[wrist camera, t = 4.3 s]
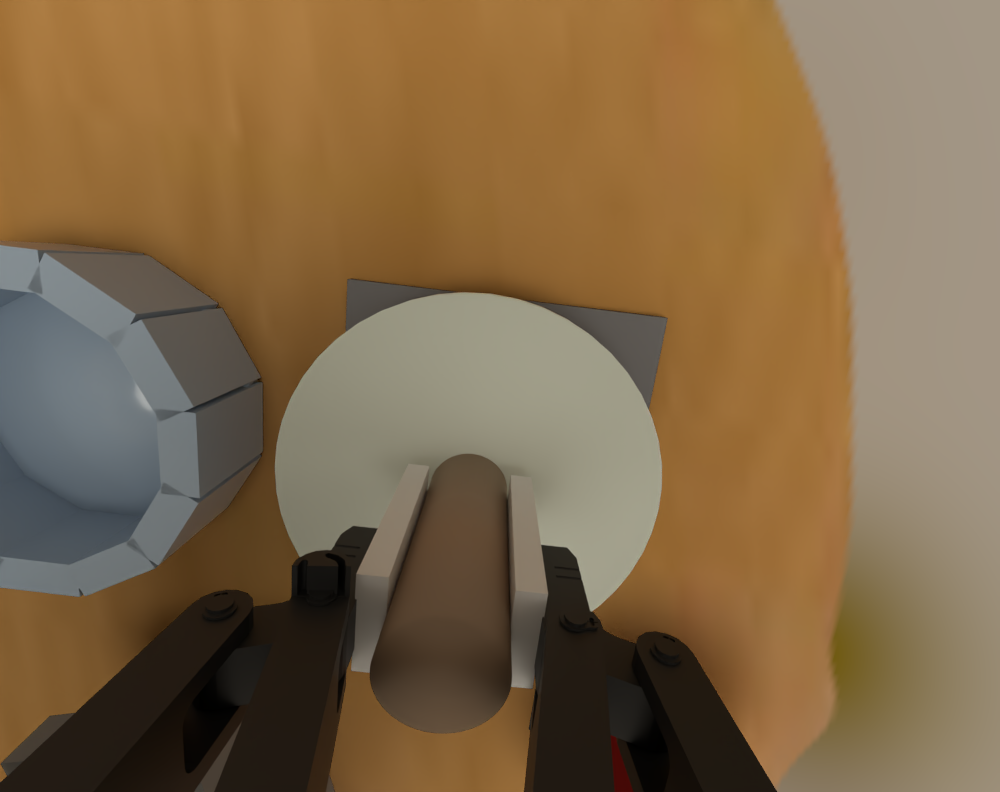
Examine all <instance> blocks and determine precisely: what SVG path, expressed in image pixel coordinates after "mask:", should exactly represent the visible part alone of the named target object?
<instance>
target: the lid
mask: <svg viewBox="0 0 1000 792" xmlns="http://www.w3.org/2000/svg"><path fill="white" fill-rule="evenodd" d="M408 464H415V465H425V466H429V477H428V488H427V494H426V497H425V500H424V503H423V506H422V509H421V512H420V515H419V518H418V521H417V524H416V527H415V530H414V533H413V536H412V539H411V542H410V545H409V548H408V551H407V554H406V557H405V560H404V563H403V566H402V569H401V572H400V575H399V578H398V581H397V584H396V587H395V591H394V594H393V597H392V600H391V603H390V606H389V609H388V612H387V615H386V618H385V621H384V624H383V627H382V630H381V633H380V636H379V639H378V642H377V645H376V648H375V651H374V654H373V657H372V660H371V665H370V681H371V686H372V689H373V692H374V694H375V696H376V698H377V700H378V701H379V703H380V704H381V706H382V707H383V708H384V709H385V710H386V711H387V712H388V713H389V714H390V715H391V716H393V717H394V718H395V719H397V720H398V721H400V722H401V723H403V724H405V725H407V726H409V727H412V728H415V729H417V730H421V731H425V732H431V733H456V732H462V731H465V730H469V729H472V728H474V727H476V726H479V725H481V724H482V723H484V722H486V721H487V720H489V719H490V718H491V717H493V716H494V715H495V714H496V713H497V712H498V711H499V710H500V708H501V707H502V706H503V704H504V703H505V701H506V699H507V697H508V695H509V692H510V688H511V684H512V656H511V628H510V590H509V550H508V510H507V499H508V491H509V484H510V477H511V475H515V476H524V477H531V478H532V485H533V492H534V499H535V506H536V513H537V520H538V527H539V534H540V541H541V545H548V546H557V547H567V548H568V549H569V550H570V551H571V552H572V553H573V555H574V556H575V557H576V558H577V562H578V566H579V571H580V573H581V577H582V581H583V585H584V589H585V593H586V597H587V601H588V604H589V608H590V611H591V612H592V611H593V610H594V609H596V608H597V607H599V606H600V605H601V604H602V603H603V602H604V601H605V600H606V599H607V598H608V597H609V596H610V595H612V594H613V593H614V592H615V591H616V590H617V588H618V587H619V586H620V585H621V584H622V582H623V581H624V580H625V579H626V578H627V576H628V575H629V574H630V573H631V571H632V569H633V568H634V566H635V565H636V563H637V561H638V560H639V558H640V557H641V555H642V553H643V551H644V549H645V547H646V544H647V542H648V540H649V538H650V536H651V533H652V530H653V527H654V524H655V520H656V517H657V513H658V509H659V503H660V496H661V489H662V462H661V454H660V447H659V440H658V437H657V433H656V430H655V426H654V423H653V419H652V416H651V414H650V412H649V410H648V408H647V405H646V403H645V401H644V399H643V396H642V394H641V393H640V391H639V390H638V388H637V386H636V385H635V383H634V382H633V380H632V379H631V377H630V375H629V374H628V372H627V371H626V370H625V369H624V368H623V367H622V365H621V364H620V363H619V362H618V361H617V360H616V358H615V357H614V356H613V355H612V354H611V353H610V352H609V351H608V350H607V349H606V348H605V347H604V346H602V345H601V344H600V343H599V342H598V341H597V340H596V339H595V338H593V337H592V336H591V335H590V334H589V333H587V332H586V331H584V330H583V329H581V328H580V327H578V326H577V325H575V324H574V323H572V322H571V321H569V320H568V319H566V318H564V317H562V316H560V315H558V314H556V313H554V312H552V311H550V310H548V309H546V308H544V307H542V306H538V305H535V304H532V303H529V302H526V301H523V300H520V299H517V298H512V297H507V296H502V295H497V294H491V293H474V292H457V293H445V294H436V295H431V296H426V297H422V298H417V299H413V300H409V301H407V302H404V303H401V304H398V305H396V306H393V307H390V308H387V309H385V310H382V311H380V312H378V313H376V314H374V315H372V316H371V317H369V318H367V319H365V320H363V321H361V322H359V323H358V324H356V325H355V326H353V327H352V328H351V329H349V330H348V331H347V332H345V333H344V334H342V335H341V336H340V337H338V338H337V339H336V340H335V341H334V342H333V343H332V344H331V345H330V346H329V347H328V348H327V349H326V350H325V351H323V352H322V353H321V354H320V355H319V356H318V357H317V359H316V360H315V361H314V363H313V364H312V365H311V367H310V368H309V369H308V370H307V372H306V373H305V374H304V376H303V377H302V379H301V381H300V382H299V384H298V386H297V388H296V389H295V391H294V393H293V395H292V397H291V398H290V401H289V404H288V406H287V409H286V411H285V414H284V417H283V419H282V422H281V427H280V431H279V436H278V440H277V445H276V458H275V480H276V493H277V497H278V502H279V507H280V512H281V516H282V518H283V521H284V524H285V527H286V530H287V532H288V535H289V537H290V539H291V541H292V543H293V545H294V547H295V549H296V551H297V553H298V555H299V557H301V556H303V555H305V554H307V553H311V552H314V551H320V550H332V548H333V546H335V543H336V541H337V540H338V538H339V536H340V535H341V534H342V533H343V532H345V531H346V530H348V529H349V528H351V527H352V526H359V527H369V528H378V527H379V525H380V523H381V521H382V518H383V516H384V514H385V512H386V510H387V508H388V506H389V504H390V502H391V500H392V497H393V495H394V493H395V491H396V489H397V487H398V485H399V483H400V481H401V478H402V476H403V474H404V472H405V470H406V468H407V466H408Z"/></svg>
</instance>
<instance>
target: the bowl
mask: <svg viewBox="0 0 1000 792" xmlns="http://www.w3.org/2000/svg"><path fill="white" fill-rule="evenodd" d="M217 305H218V303H217V302H215V301H214V300H212V299H211V298H209V297H208V296H207V295H205V294H204V293H202V292H201V291H199V290H198V289H196V288H195V287H194V286H192V285H191V284H189V283H188V282H186V281H185V280H184V279H182V278H181V277H179V276H178V275H176V274H175V273H173V272H172V271H171V270H169V269H168V268H166V267H165V266H163V265H162V264H160V263H159V262H158V261H156V260H155V259H153V258H152V257H150V256H146V255H144V253H136V252H127V251H119V250H111V249H103V248H95V247H87V246H78V245H70V244H58V243H38V242H18V241H0V587H1V588H9V589H17V590H26V591H34V592H43V593H51V594H59V595H68V596H76V597H80V596H82V595H83V594H84V595H85V596H87V595H90V594H92V593H95V592H97V591H100V590H102V589H105V588H107V587H110V586H112V585H115V584H117V583H120V582H122V581H125V580H127V579H130V578H132V577H135V576H137V575H140V574H142V573H145V572H148V571H150V570H153V569H155V568H156V567H157V566H158V565H160V564H161V563H162V562H163V561H165V560H166V559H167V558H168V557H169V556H171V555H172V554H173V553H174V552H175V551H176V550H178V549H179V548H180V547H181V546H182V545H184V544H185V543H186V542H187V541H188V540H189V539H191V538H192V537H193V536H194V535H195V534H197V533H198V532H199V531H200V530H201V529H203V528H204V527H205V526H206V525H207V524H208V523H210V522H211V521H212V520H213V519H214V518H216V517H217V516H218V515H219V514H220V513H222V512H223V511H224V510H225V509H226V508H227V507H228V506H229V505H230V503H231V502H232V500H233V499H234V497H235V496H236V494H237V493H238V491H239V490H240V488H241V487H242V485H243V484H244V482H245V481H246V479H247V477H248V476H249V474H250V473H251V471H252V470H253V468H254V467H255V465H256V464H257V462H258V461H259V459H260V458H261V456H262V455H260V453H262V452H263V382H258V381H257V379H259V378H261V376H260V374H259V373H258V371H257V369H256V367H255V365H254V364H253V362H252V360H251V358H250V357H249V355H248V353H247V351H246V349H245V348H244V346H243V344H242V342H241V341H240V339H239V337H238V335H237V333H236V332H235V330H234V328H233V326H232V324H231V323H230V321H229V319H228V317H227V316H226V314H225V312H224V310H223V308H219V309H217V308H216V307H217Z"/></svg>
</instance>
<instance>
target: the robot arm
mask: <svg viewBox="0 0 1000 792" xmlns="http://www.w3.org/2000/svg"><path fill="white" fill-rule="evenodd" d="M428 477H429V466H425V465H415V464H408V466H407V468H406V470H405V472H404V474H403V476H402V478H401V481H400V483H399V485H398V487H397V489H396V491H395V493H394V495H393V497H392V500H391V502H390V504H389V506H388V508H387V510H386V512H385V514H384V516H383V518H382V521H381V523H380V525H379V527H378V528H369V527H359V526H352V527H351V528H349V529H348V530H346V531H345V532H343V533H342V534H341V535H340V536H339V538H338V540H337V541H336V543H335V546H333V548H332V550H320V551H314V552H311V553H307V554H305V555H303V556H301V557H300V558H298V559H297V560H296V561H295V562H294V564H293V565H292V596H291V599H290V600H289V601H286V602H283V603H278V604H272V605H264V606H255V607H253V599H252V597H251V596H250V595H249V594H248V593H245V592H242V591H239V590H223V591H218V592H213V593H211V594H208V595H206V596H204V597H201V598H200V599H199V600H197V601H196V602H194V603H193V604H192V605H190V606H189V607H188V608H187V609H186V610H185V611H184V612H183V613H182V614H181V615H180V616H179V617H178V618H177V619H175V620H174V621H173V622H172V623H171V624H170V625H169V626H168V627H167V628H166V629H165V630H164V631H163V632H161V633H160V634H159V635H158V636H157V637H156V638H155V639H154V640H153V641H152V642H151V643H150V644H149V645H148V646H146V647H145V648H144V649H143V650H142V651H141V652H140V653H139V654H138V655H137V656H136V657H135V658H134V659H133V660H131V661H130V662H129V663H128V664H127V665H126V666H125V667H124V668H123V669H122V670H121V671H120V672H119V673H117V674H116V675H115V676H114V677H113V678H112V679H111V680H110V681H109V682H108V683H107V684H106V685H105V686H104V687H102V688H101V689H100V690H99V691H98V692H97V693H96V694H95V695H94V696H93V697H92V698H91V699H90V700H89V701H87V702H86V703H85V704H84V705H83V706H82V707H81V708H80V709H79V710H78V711H77V712H76V713H75V714H73V715H72V716H71V717H70V718H69V719H68V720H67V721H66V722H65V723H64V724H63V725H62V726H61V727H60V728H58V729H57V730H56V731H55V732H54V733H53V734H52V735H51V736H50V737H49V738H48V739H47V740H46V741H45V742H43V743H42V744H41V745H40V746H39V747H38V748H37V749H36V750H35V751H34V752H33V753H32V754H31V755H29V756H28V757H27V758H26V759H25V760H24V761H23V762H22V763H21V764H20V765H19V766H18V767H17V768H16V769H14V770H13V771H12V772H11V773H10V774H9V775H8V776H7V777H6V778H5V779H4V780H3V781H2V782H1V783H0V792H194V791H195V790H196V788H197V787H198V785H199V784H200V782H201V781H202V779H203V778H204V776H205V775H206V773H207V772H208V771H209V769H210V768H211V766H212V765H213V763H214V762H215V760H216V759H217V757H218V756H219V754H220V753H221V751H222V750H223V748H224V747H225V746H226V744H227V743H228V741H229V740H230V738H231V737H232V735H233V734H234V732H235V731H236V729H237V728H238V726H239V725H240V723H241V722H242V723H241V725H240V728H239V730H238V733H237V735H236V738H235V740H234V743H233V746H232V748H231V751H230V753H229V756H228V758H227V761H226V763H225V766H224V768H223V771H222V773H221V776H220V778H219V781H218V783H217V786H216V788H215V791H214V792H326V789H327V783H328V778H329V773H330V767H331V762H332V756H333V751H334V746H335V740H336V735H337V730H338V724H339V719H340V713H341V708H342V703H343V697H344V692H345V687H346V669H347V667H348V664H349V662H350V659H351V656H352V667H351V671H358V672H368V673H370V665H371V660H372V657H373V654H374V651H375V648H376V645H377V642H378V639H379V636H380V633H381V630H382V627H383V624H384V621H385V618H386V615H387V612H388V609H389V606H390V603H391V600H392V597H393V594H394V591H395V587H396V584H397V581H398V578H399V575H400V572H401V569H402V566H403V563H404V560H405V557H406V554H407V551H408V548H409V545H410V542H411V539H412V536H413V533H414V530H415V527H416V524H417V521H418V518H419V515H420V512H421V509H422V506H423V503H424V500H425V497H426V494H427V488H428ZM507 510H508V550H509V590H510V628H511V656H512V684H511V687H520V688H530V689H532V688H533V682H534V676H535V681H536V689H535V695H534V701H533V707H532V713H531V719H530V725H529V730H530V738H529V748H528V758H527V768H526V777H525V787H524V792H615V788H614V775H613V761H612V748H611V735H612V736H614V737H616V739H617V745H618V748H619V751H620V754H621V756H622V759H623V762H624V765H625V768H626V771H627V774H628V777H629V780H630V783H631V786H632V789H633V792H777V791H776V789H775V788H774V786H773V784H772V783H771V781H770V779H769V778H768V776H767V774H766V773H765V771H764V769H763V768H762V766H761V765H760V763H759V761H758V760H757V758H756V756H755V755H754V753H753V751H752V750H751V748H750V746H749V745H748V743H747V741H746V740H745V738H744V736H743V735H742V733H741V732H740V730H739V728H738V727H737V725H736V723H735V722H734V720H733V718H732V717H731V715H730V713H729V712H728V710H727V708H726V707H725V705H724V704H723V702H722V700H721V699H720V697H719V695H718V694H717V692H716V690H715V689H714V687H713V685H712V684H711V682H710V680H709V679H708V677H707V675H706V674H705V672H704V671H703V669H702V667H701V666H700V664H699V662H698V661H697V659H696V657H695V656H694V654H693V653H692V652H691V650H690V649H689V648H688V647H687V646H686V645H685V644H684V643H682V642H681V641H680V640H678V639H677V638H675V637H672V636H670V635H668V634H665V633H660V632H646V633H644V634H642V635H641V636H639V637H638V640H637V642H636V644H635V643H632V642H629V641H626V640H623V639H620V638H618V637H615V636H613V635H611V634H609V633H608V632H606V631H604V630H603V627H602V625H601V622H600V620H599V619H598V617H597V616H596V615H595V614H594V613H593V612H591V611H590V608H589V604H588V601H587V597H586V593H585V589H584V585H583V581H582V577H581V573H580V571H579V566H578V562H577V558H576V557H575V556H574V555H573V553H572V552H571V551H570V550H569V549H568V548H567V547H557V546H548V545H541V541H540V534H539V527H538V520H537V513H536V506H535V499H534V492H533V485H532V478H531V477H524V476H515V475H511V477H510V484H509V491H508V499H507Z"/></svg>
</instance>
